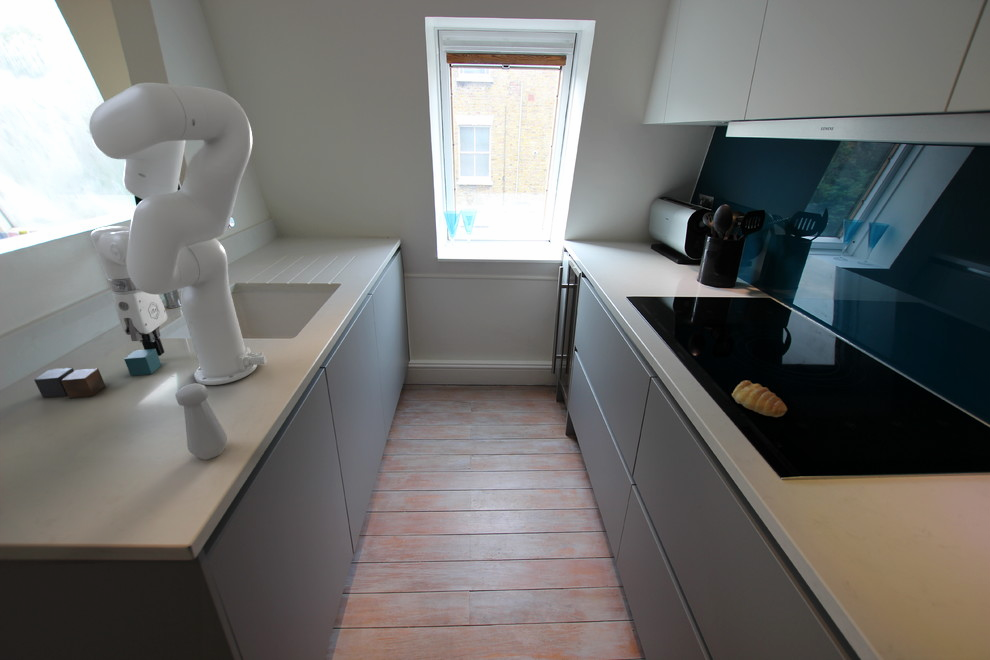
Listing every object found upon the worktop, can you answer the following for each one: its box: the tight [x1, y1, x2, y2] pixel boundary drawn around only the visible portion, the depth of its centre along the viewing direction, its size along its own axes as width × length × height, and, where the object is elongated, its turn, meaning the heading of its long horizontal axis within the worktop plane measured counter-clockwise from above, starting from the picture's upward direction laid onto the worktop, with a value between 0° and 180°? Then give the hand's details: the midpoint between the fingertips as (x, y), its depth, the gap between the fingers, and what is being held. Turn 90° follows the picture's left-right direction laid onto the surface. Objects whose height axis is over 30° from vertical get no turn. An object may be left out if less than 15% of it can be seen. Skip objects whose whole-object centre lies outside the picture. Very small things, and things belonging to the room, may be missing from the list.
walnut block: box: [61, 367, 106, 399], centre depth 94 cm, size 4×4×4 cm
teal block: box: [123, 349, 162, 377], centre depth 103 cm, size 4×4×4 cm
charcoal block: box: [34, 367, 75, 399], centre depth 94 cm, size 4×4×4 cm
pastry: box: [731, 380, 788, 418], centre depth 88 cm, size 9×7×4 cm
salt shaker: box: [175, 382, 228, 461], centre depth 74 cm, size 6×6×13 cm
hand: (156, 354), depth 108 cm, fingers closed
